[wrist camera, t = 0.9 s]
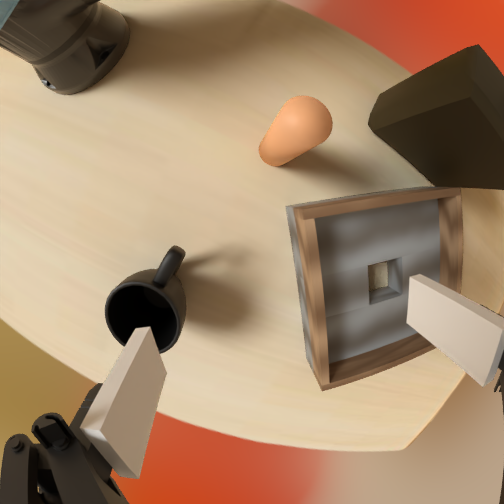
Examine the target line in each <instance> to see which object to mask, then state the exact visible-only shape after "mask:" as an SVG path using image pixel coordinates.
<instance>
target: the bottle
mask: <svg viewBox="0 0 504 504" xmlns="http://www.w3.org/2000/svg"><path fill="white" fill-rule="evenodd" d="M368 125H369V127H370V128H371V130H372V131H373V132H374V133H376V134H377V135H378V136H379V137H381V138H382V139H383V140H384V141H386V142H387V143H388V144H389V145H391V146H392V147H393V148H394V149H395V150H397V151H398V152H399V153H400V154H401V155H402V156H404V157H405V158H406V159H407V160H408V161H409V162H410V163H411V164H413V165H414V166H415V167H416V168H417V169H418V170H419V171H420V172H421V173H422V174H423V175H424V176H425V177H426V178H428V179H429V180H430V181H431V182H432V183H433V184H434V185H435V186H436V187H462V188H483V189H498V190H504V76H503V75H502V73H501V72H500V70H499V69H498V68H497V66H496V65H495V64H494V63H493V61H492V60H491V59H490V57H489V56H488V55H487V54H486V53H485V51H484V50H483V49H482V48H481V47H480V46H479V45H475V46H471V47H467V48H465V49H463V50H461V51H459V52H457V53H455V54H452V55H450V56H449V57H447V58H445V59H443V60H441V61H439V62H437V63H435V64H433V65H431V66H429V67H427V68H425V69H424V70H422V71H420V72H418V73H416V74H414V75H413V76H411V77H409V78H407V79H405V80H404V81H402V82H400V83H398V84H397V85H395V86H393V87H392V88H390V89H388V90H386V91H385V92H383V93H381V94H380V95H379V97H378V99H377V101H376V103H375V105H374V107H373V110H372V112H371V114H370V117H369V122H368Z"/></svg>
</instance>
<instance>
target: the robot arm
mask: <svg viewBox="0 0 504 504" xmlns="http://www.w3.org/2000/svg"><path fill="white" fill-rule="evenodd" d="M98 1H100V0H0V47H1V48H3V49H5V50H7V51H9V52H11V53H12V54H14V55H16V56H18V57H20V58H21V59H23V60H25V61H27V62H29V63H30V64H32V66H33V68H34V69H35V71H36V73H37V74H38V76H39V78H40V80H41V81H42V83H43V84H44V85H45V86H46V87H47V88H48V89H50V90H52V91H54V92H56V93H58V94H64V95H66V94H73V93H77V92H80V91H82V90H84V89H86V88H88V87H90V86H92V85H93V84H95V83H96V82H98V81H99V80H100V79H101V78H103V77H104V76H105V75H106V74H107V73H108V72H109V71H110V70H111V69H112V68H113V67H114V66H115V65H116V63H117V62H118V61H119V59H120V58H121V56H122V55H123V53H124V51H125V49H126V47H127V44H128V41H129V36H130V30H129V26H128V24H127V22H126V20H125V19H124V17H123V16H122V14H120V13H119V12H118V11H116V10H114V9H112V8H110V7H109V6H107V5H105V4H103V3H100V2H98ZM406 323H407V324H409V325H410V326H411V327H412V328H414V329H415V330H416V331H417V332H418V333H420V334H421V335H422V336H423V337H425V338H426V339H427V340H428V341H429V342H431V343H432V344H433V345H434V346H436V347H437V348H438V349H439V350H440V351H442V352H443V353H444V354H445V355H446V356H447V357H449V358H450V359H451V360H452V361H453V362H455V363H456V364H457V365H458V366H459V367H460V368H462V369H463V370H464V371H465V372H466V373H467V374H469V375H470V376H471V377H472V378H473V379H474V380H475V381H477V382H478V383H479V384H480V385H481V386H482V387H484V386H485V385H487V384H488V383H489V382H490V381H492V380H493V379H494V376H495V374H496V371H497V369H498V368H499V369H500V370H502V372H501V374H500V376H499V379H498V381H497V384H496V386H495V388H494V392H496V390H497V388H498V386H500V385H501V387H500V390H499V392H502V401H503V413H504V317H502V316H501V315H499V314H496V313H495V312H494V311H492V310H490V309H488V308H486V307H485V306H483V305H480V304H478V303H476V302H474V301H472V300H470V299H468V298H467V297H465V296H463V295H461V294H459V293H457V292H455V291H453V290H451V289H449V288H447V287H445V286H443V285H441V284H439V283H437V282H435V281H433V280H431V279H429V278H427V277H425V276H423V275H421V274H418V275H414V276H411V277H410V279H409V298H408V311H407V322H406ZM166 374H167V372H166V370H165V367H164V364H163V362H162V359H161V356H160V354H159V351H158V348H157V345H156V342H155V340H154V337H153V334H152V331H151V328H150V327H143V328H136V329H135V330H134V332H133V334H132V335H131V337H130V339H129V340H128V342H127V344H126V345H125V347H124V349H123V350H122V352H121V354H120V355H119V357H118V359H117V360H116V362H115V364H114V366H113V367H112V369H111V371H110V373H109V374H108V376H107V378H106V380H105V381H104V383H98V384H97V385H95V386H94V387H93V388H92V389H91V390H90V391H89V393H88V394H87V396H86V398H85V401H83V403H82V405H81V408H79V410H78V412H77V413H76V415H75V417H74V419H73V421H72V422H71V424H70V426H68V425H67V424H66V422H65V421H64V419H63V418H62V416H61V415H59V414H57V413H47V414H44V415H42V416H40V417H39V418H38V419H37V420H36V421H35V422H34V424H33V425H32V433H33V434H34V436H35V437H36V438H37V439H38V441H39V442H40V443H41V444H33V443H32V442H31V440H30V439H29V438H28V437H27V436H26V435H24V434H16V435H13V436H12V437H10V438H9V439H8V441H7V442H6V444H5V448H4V454H3V460H2V468H1V478H0V504H129V503H128V501H127V500H126V498H125V497H124V495H123V494H122V492H121V491H120V489H119V487H118V486H117V484H116V482H115V481H114V479H113V478H112V477H111V476H110V474H111V471H112V468H113V469H114V471H115V472H116V473H117V474H118V475H120V477H127V478H135V479H139V477H140V473H141V468H142V464H143V460H144V456H145V451H146V447H147V443H148V439H149V436H150V431H151V428H152V424H153V420H154V416H155V413H156V409H157V406H158V402H159V398H160V395H161V391H162V388H163V384H164V381H165V377H166ZM37 486H38V487H39V493H38V488H37ZM499 504H504V470H503V481H502V490H501V496H500V503H499Z"/></svg>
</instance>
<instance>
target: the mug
mask: <svg viewBox="0 0 504 504" xmlns="http://www.w3.org/2000/svg"><path fill="white" fill-rule="evenodd" d="M184 257H185V251H184V250H183V249H182V248H180V247H178V246H173V247H171V248H170V250H169V251H168V252H167V254H166V255H165V257H164V259H163V260H162V262H161V264H160V266H159V268H158V269H149V270H144V271H140V272H137V273H135V274H133V275H131V276H129V277H127V278H126V279H125V280H124V281H123V282H121V283H120V284H119V285H118V286H117V287H116V288H115V289H113V290H112V291H111V293H110V295H109V296H108V298H107V301H106V305H105V318H106V323H107V325H108V328H109V330H110V332H111V333H112V335H113V336H114V338H115V339H116V340H117V341H118V342H119V343H120V344H121V345H123V346H124V347H125V345H126V344H127V342H128V340H129V339H130V337H131V335H132V334H133V332H134V330H135V329H136V328H143V327H150V328H151V331H152V334H153V337H154V340H155V342H156V345H157V348H158V351H159V354H161V353H164V352H166V351H167V350H169V349H170V348H172V347H173V346H174V344H175V343H176V342H177V340H178V338H179V336H180V334H181V331H182V328H183V324H184V321H185V315H186V299H185V294H184V291H183V288H182V284H181V282H180V280H179V279H178V277H177V276H176V275H175V274H176V272H177V270H178V269H179V267H180V265H181V263H182V261H183V259H184Z"/></svg>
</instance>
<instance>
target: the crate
mask: <svg viewBox="0 0 504 504" xmlns="http://www.w3.org/2000/svg"><path fill="white" fill-rule="evenodd" d="M286 212H287V218H288V224H289V230H290V236H291V243H292V249H293V256H294V263H295V270H296V277H297V284H298V291H299V299H300V306H301V314H302V323H303V331H304V340H305V349H306V358H307V360H308V362H309V364H310V367H311V369H312V371H313V373H314V375H315V377H316V379H317V381H318V384H319V386H320V388H321V390H322V391H325V390H328V389H332V388H335V387H338V386H342V385H345V384H348V383H351V382H354V381H357V380H360V379H363V378H366V377H369V376H371V375H374V374H377V373H379V372H382V371H385V370H387V369H390V368H392V367H395V366H397V365H399V364H402V363H404V362H407V361H409V360H411V359H413V358H416V357H418V356H420V355H422V354H424V353H426V352H429V351H431V350H433V349H435V348H437V347H436V346H434V345H433V344H432V343H431V342H429V341H428V340H427V339H426V338H425V337H423V336H422V335H421V334H420V333H418V332H417V331H416V330H415V329H414V328H412V327H411V326H410V325H409V324H407V323H406V322H407V311H408V298H409V279H410V277H411V276H414V275H418V274H421V275H423V276H425V277H427V278H429V279H431V280H433V281H435V282H437V283H439V284H441V285H443V286H445V287H447V288H449V289H451V290H453V291H455V292H457V293H459V294H460V292H461V280H462V263H463V219H462V202H461V190H460V187H415V188H407V189H399V190H391V191H383V192H375V193H368V194H361V195H354V196H347V197H340V198H334V199H327V200H321V201H314V202H308V203H302V204H296V205H290V206H286ZM384 261H387V265H388V286H386V287H383V288H380V289H376V290H373V291H369V281H368V265H372V264H376V263H380V262H384Z"/></svg>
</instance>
